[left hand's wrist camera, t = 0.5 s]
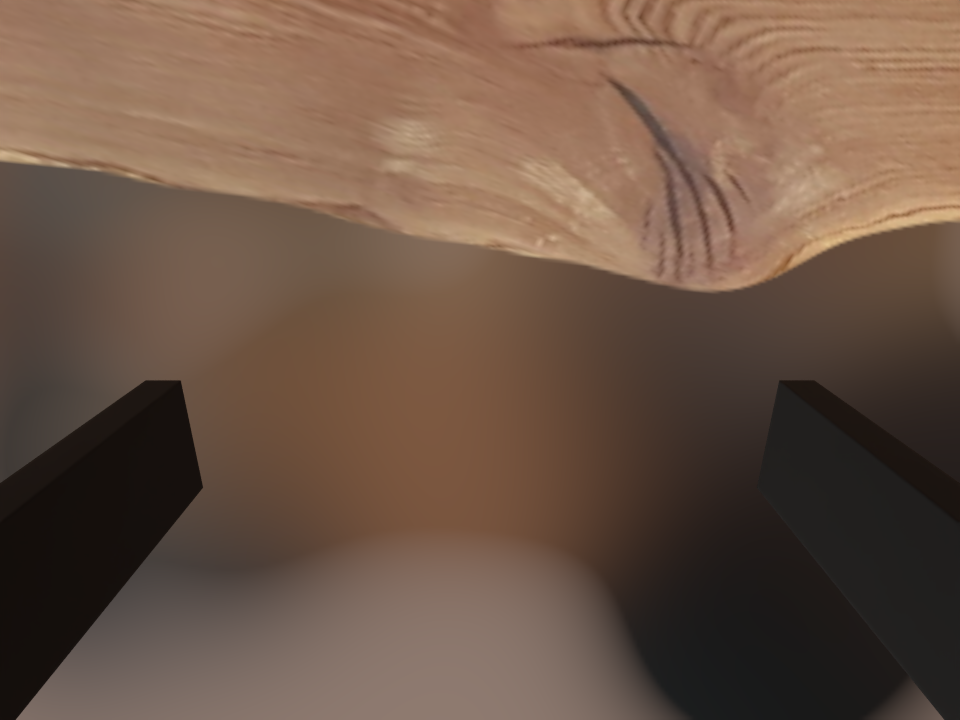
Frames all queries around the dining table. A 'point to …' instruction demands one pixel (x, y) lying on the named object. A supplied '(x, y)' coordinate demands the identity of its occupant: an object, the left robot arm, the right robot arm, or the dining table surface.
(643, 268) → the dining table surface
